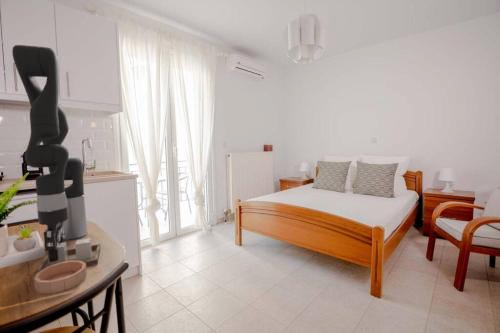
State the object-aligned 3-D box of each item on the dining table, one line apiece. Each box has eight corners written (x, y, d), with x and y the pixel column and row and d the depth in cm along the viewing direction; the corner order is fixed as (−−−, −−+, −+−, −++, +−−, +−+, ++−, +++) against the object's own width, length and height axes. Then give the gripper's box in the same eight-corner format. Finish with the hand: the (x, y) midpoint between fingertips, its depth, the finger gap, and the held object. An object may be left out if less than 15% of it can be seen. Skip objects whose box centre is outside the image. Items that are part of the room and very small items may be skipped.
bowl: (42, 277, 74) (41, 266, 74) (88, 267, 79) (87, 257, 79) (30, 299, 64) (28, 286, 63) (83, 286, 69) (82, 275, 69)
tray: (48, 258, 86) (47, 252, 85) (100, 248, 93) (100, 243, 93) (36, 277, 74) (35, 271, 74) (97, 265, 81) (97, 259, 81)
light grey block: (53, 261, 82) (51, 244, 82) (67, 258, 84) (66, 241, 84) (50, 267, 79) (48, 249, 78) (65, 264, 81) (63, 246, 80)
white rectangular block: (78, 256, 86) (76, 240, 85) (92, 254, 88) (90, 238, 87) (76, 261, 82) (75, 244, 82) (90, 259, 84) (89, 242, 83)
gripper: (44, 203, 84) (48, 249, 85) (30, 214, 71) (35, 268, 73) (71, 201, 87) (74, 245, 89) (62, 211, 75) (66, 262, 76)
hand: (57, 255), depth 81 cm, fingers open, 8 cm apart
